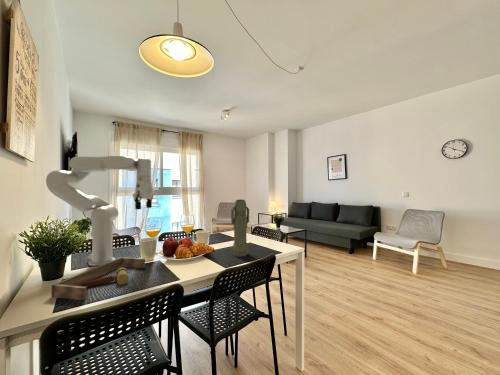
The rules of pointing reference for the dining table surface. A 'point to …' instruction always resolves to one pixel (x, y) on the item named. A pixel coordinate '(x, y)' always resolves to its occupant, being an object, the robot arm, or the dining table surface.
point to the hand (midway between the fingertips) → (143, 208)
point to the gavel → (108, 279)
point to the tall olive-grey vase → (240, 227)
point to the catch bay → (90, 278)
